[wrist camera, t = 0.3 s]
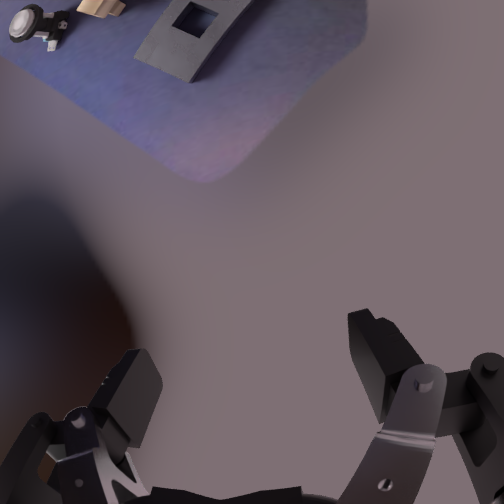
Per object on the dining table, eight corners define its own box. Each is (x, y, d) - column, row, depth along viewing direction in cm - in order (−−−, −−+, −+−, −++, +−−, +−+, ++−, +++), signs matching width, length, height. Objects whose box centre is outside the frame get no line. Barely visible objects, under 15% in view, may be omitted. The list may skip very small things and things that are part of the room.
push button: (68, 48, 22) (25, 48, 14) (42, 53, 21) (-1, 56, 13) (78, 9, 19) (39, -2, 10) (51, 15, 18) (10, 9, 9)
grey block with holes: (140, 59, 26) (133, 57, 23) (237, -57, 16) (237, -66, 13) (191, 83, 29) (188, 83, 26) (288, -33, 19) (293, -41, 16)
